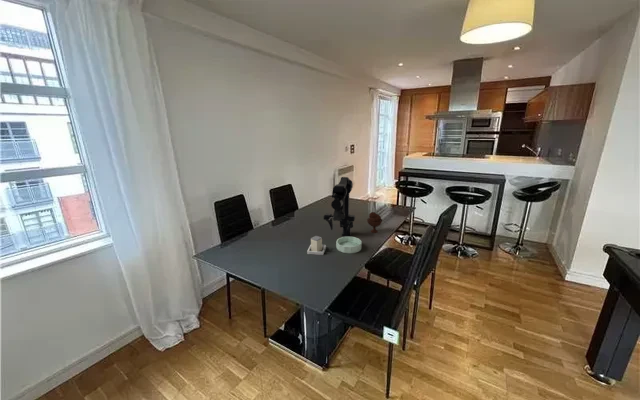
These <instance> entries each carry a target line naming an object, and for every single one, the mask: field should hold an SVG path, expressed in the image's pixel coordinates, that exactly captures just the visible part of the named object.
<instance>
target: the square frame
mask: <svg viewBox="0 0 640 400" xmlns="http://www.w3.org/2000/svg"><path fill="white" fill-rule="evenodd" d="M326 249H327V245H326V244H322V251H320V252H317V251H311V244H310V245H309V246H308V249H307V251H306V253H307V255H319V256H324V255H325V254H324V253H325V251H326Z"/></svg>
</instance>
